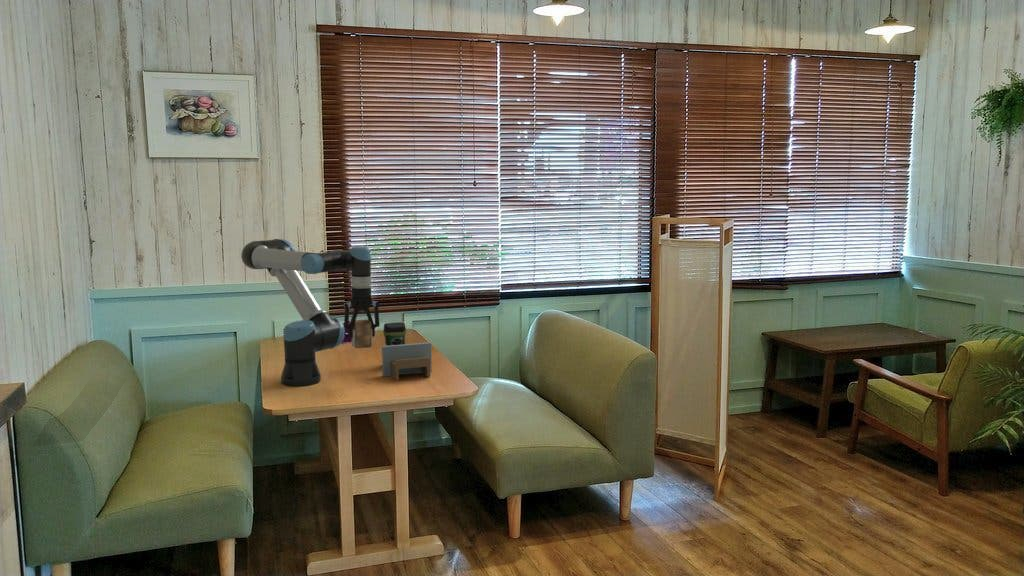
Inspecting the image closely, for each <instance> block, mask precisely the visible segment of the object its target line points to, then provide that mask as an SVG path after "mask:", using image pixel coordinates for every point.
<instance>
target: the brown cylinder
mask: <svg viewBox="0 0 1024 576" xmlns="http://www.w3.org/2000/svg"><path fill="white" fill-rule="evenodd" d="M353 329H354V330H355V347H354V348H355V349H367V348H372V345H371V322H370V321H369V320H368V318H365V319H356V320H355V324H354V327H353Z"/></svg>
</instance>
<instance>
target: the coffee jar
mask: <svg viewBox="0 0 1024 576" xmlns="http://www.w3.org/2000/svg"><path fill="white" fill-rule="evenodd" d="M406 335H407V327H406V324H405V323H404V322H403V321H400V322H399V321H398V322H396V321H395V322H387V323H384V325H383V336H384V339H385V340H384V342H385V343H384V346H390V345H403V344H406V340H405V339H406Z"/></svg>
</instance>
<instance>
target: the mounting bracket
mask: <svg viewBox="0 0 1024 576" xmlns="http://www.w3.org/2000/svg"><path fill="white" fill-rule="evenodd" d="M350 321H351V319H349V324H348V326H349V325H350ZM342 323H343V326H344V322H342ZM344 329H345V333H344V339H343V341H342V343H343V342H350V343H352V338H350V337H349V329H346V328H345V327H344Z"/></svg>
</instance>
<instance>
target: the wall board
mask: <svg viewBox="0 0 1024 576" xmlns="http://www.w3.org/2000/svg"><path fill="white" fill-rule="evenodd" d="M381 360H382V361H381V364H382V376H383V377H390V376H391V378H393V379H394V380H395V381H400V376H401V375H400V374H402V375H412V374H411V373H413V374H423V375H424V376H425V377H426V378H431V372H433V371H432V343H431V342H430V341H429V342H427V341H426V342H417V343H405V344H403V345H390V346H385V345H383V346H381Z"/></svg>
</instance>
